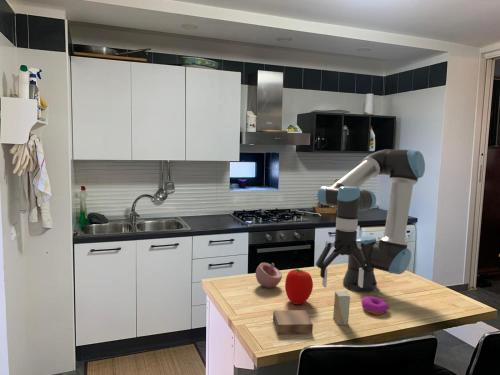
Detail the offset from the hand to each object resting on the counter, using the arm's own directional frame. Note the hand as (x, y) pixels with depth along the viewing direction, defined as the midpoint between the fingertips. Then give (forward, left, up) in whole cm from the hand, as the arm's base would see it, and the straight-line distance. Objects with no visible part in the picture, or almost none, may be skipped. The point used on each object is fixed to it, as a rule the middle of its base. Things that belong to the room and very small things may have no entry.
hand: (342, 286), depth 140 cm
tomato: (+12, -18, -14) cm, 26 cm away
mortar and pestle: (+22, -35, -14) cm, 44 cm away
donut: (-17, -10, -14) cm, 24 cm away
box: (0, 0, -14) cm, 14 cm away
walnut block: (+19, +3, -14) cm, 24 cm away
